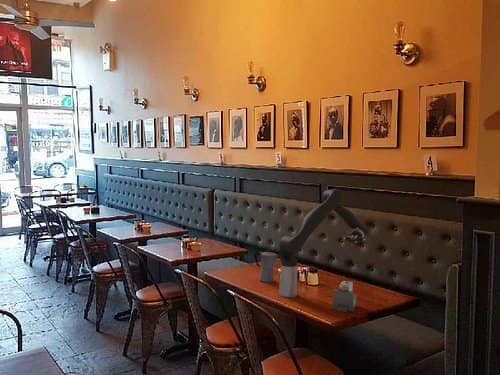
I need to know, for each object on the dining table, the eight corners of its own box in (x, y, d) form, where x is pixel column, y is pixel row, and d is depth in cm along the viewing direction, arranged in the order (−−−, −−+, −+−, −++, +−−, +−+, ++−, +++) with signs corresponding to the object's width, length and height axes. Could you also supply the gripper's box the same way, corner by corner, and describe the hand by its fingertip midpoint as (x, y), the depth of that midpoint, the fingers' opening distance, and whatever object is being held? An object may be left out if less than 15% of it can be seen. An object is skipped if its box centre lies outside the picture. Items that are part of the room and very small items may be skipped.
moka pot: (277, 283, 290) (277, 251, 288) (252, 282, 292) (253, 250, 291) (278, 279, 299) (279, 248, 298) (254, 278, 302) (255, 247, 300)
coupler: (331, 310, 240) (332, 286, 240) (336, 303, 252) (337, 280, 251) (352, 312, 237) (352, 288, 236) (355, 305, 248) (356, 282, 248)
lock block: (338, 307, 244) (339, 284, 243) (342, 302, 253) (343, 280, 253) (348, 309, 242) (348, 285, 241) (351, 303, 251) (352, 281, 251)
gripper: (345, 229, 279) (340, 233, 263) (368, 230, 274) (364, 235, 258) (345, 241, 279) (339, 246, 263) (367, 243, 275) (363, 248, 258)
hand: (352, 241), depth 261 cm, fingers closed
